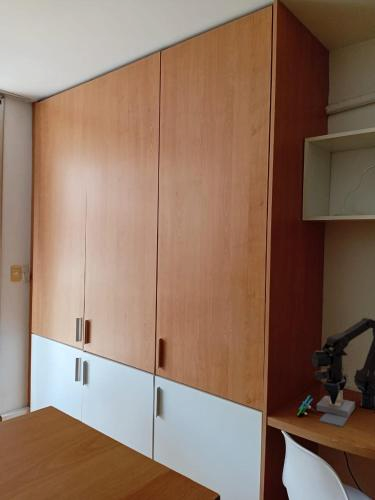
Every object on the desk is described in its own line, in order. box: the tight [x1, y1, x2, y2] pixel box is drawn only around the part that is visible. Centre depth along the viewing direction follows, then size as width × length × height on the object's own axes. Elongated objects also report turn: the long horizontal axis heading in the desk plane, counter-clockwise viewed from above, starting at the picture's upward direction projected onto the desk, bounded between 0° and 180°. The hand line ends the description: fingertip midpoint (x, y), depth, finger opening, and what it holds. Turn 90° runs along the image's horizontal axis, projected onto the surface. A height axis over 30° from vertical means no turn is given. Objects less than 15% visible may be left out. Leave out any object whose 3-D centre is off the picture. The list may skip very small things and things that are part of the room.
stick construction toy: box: [297, 395, 318, 417], centre depth 163 cm, size 12×7×8 cm
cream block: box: [328, 390, 344, 407], centre depth 168 cm, size 4×4×8 cm
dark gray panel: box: [318, 412, 349, 428], centre depth 156 cm, size 9×9×1 cm
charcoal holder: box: [316, 395, 356, 419], centre depth 168 cm, size 13×13×2 cm
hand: (335, 400), depth 168 cm, fingers open, 8 cm apart
